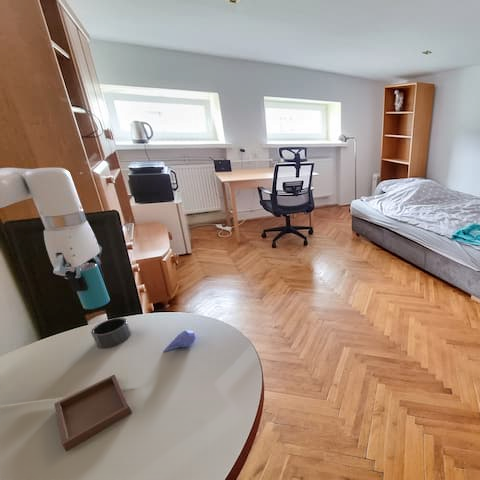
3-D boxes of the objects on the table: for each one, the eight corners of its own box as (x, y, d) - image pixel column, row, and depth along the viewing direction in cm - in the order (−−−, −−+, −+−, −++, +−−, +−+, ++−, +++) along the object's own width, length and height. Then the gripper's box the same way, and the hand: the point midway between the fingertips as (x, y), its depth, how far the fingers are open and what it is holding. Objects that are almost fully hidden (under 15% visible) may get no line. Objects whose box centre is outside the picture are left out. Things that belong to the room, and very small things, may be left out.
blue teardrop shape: (204, 337, 85) (191, 328, 87) (191, 331, 80) (178, 322, 83) (184, 363, 81) (171, 353, 84) (170, 358, 77) (156, 348, 79)
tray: (57, 409, 64) (54, 403, 63) (117, 380, 71) (114, 374, 70) (66, 451, 55) (62, 444, 55) (132, 412, 63) (129, 406, 62)
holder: (90, 351, 80) (83, 337, 79) (108, 332, 88) (103, 319, 86) (121, 347, 82) (116, 333, 80) (137, 329, 89) (132, 316, 87)
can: (77, 310, 76) (62, 272, 72) (92, 298, 81) (78, 263, 77) (101, 308, 76) (87, 271, 72) (114, 297, 82) (102, 261, 78)
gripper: (73, 211, 77) (95, 270, 84) (13, 232, 61) (46, 303, 68) (105, 210, 78) (124, 269, 85) (54, 230, 63) (82, 300, 69)
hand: (89, 283), depth 76 cm, fingers closed on can, 5 cm apart
